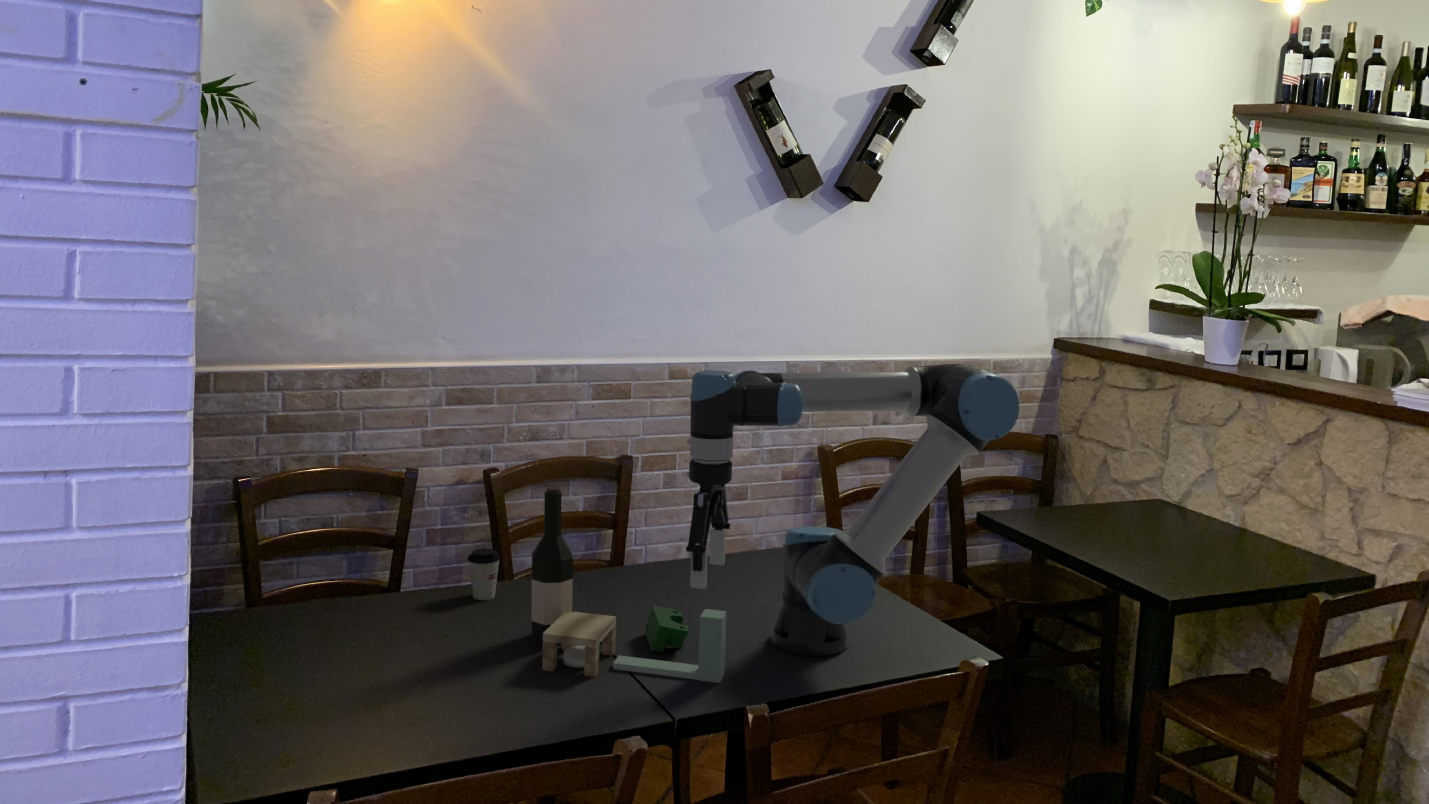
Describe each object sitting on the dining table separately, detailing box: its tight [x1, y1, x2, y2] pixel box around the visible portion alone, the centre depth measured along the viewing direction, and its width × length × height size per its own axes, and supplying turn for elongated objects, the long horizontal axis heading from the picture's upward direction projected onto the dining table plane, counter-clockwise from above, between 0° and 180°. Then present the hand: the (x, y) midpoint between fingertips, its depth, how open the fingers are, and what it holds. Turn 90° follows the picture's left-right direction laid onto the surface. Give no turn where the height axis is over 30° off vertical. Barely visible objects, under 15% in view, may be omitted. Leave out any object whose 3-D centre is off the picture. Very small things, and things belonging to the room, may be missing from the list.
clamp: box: [644, 604, 690, 654], centre depth 208 cm, size 12×6×9 cm
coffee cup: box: [466, 547, 501, 601], centre depth 230 cm, size 7×7×10 cm
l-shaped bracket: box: [612, 608, 728, 684], centre depth 194 cm, size 20×4×12 cm, turn 78°
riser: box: [542, 610, 617, 678], centre depth 198 cm, size 10×12×7 cm
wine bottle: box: [530, 486, 574, 646], centre depth 207 cm, size 8×8×30 cm
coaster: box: [563, 645, 585, 669], centre depth 198 cm, size 6×6×2 cm
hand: (707, 575), depth 191 cm, fingers open, 13 cm apart
